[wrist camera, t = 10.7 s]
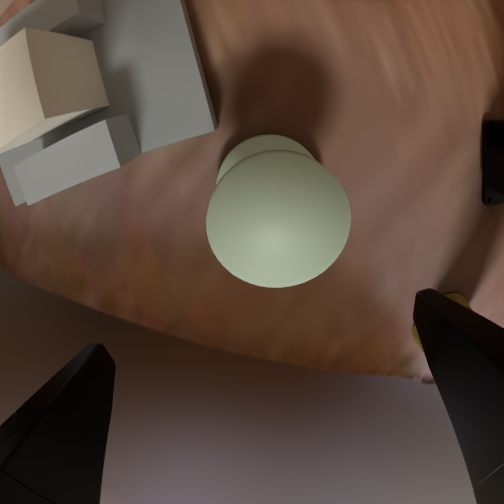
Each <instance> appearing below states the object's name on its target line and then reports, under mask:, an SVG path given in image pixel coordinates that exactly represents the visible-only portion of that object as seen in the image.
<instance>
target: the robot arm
mask: <svg viewBox="0 0 504 504" xmlns="http://www.w3.org/2000/svg"><path fill="white" fill-rule="evenodd" d="M489 126H490V127H489ZM483 150H484V163H483V192H482V202H483V203H484V204H485V205H487V206H491V205H496V204H500V203H504V120H486V121H484V123H483ZM487 199H488V200H487ZM413 320H414V324H415V327H416V329H417V332H418V335H419V338H420V341H421V344H422V347H423V350H424V353H425V356H426V360H427V363H428V366H429V368H430V371H431V373H432V376H433V378H434V380H435V383H436V385H437V387H438V390H439V392H440V394H441V397H442V400H443V402H444V404H445V407H446V410H447V412H448V415H449V417H450V420H451V422H452V425H453V428H454V431H455V434H456V436H457V439H458V442H459V445H460V448H461V451H462V454H463V457H464V460H465V463H466V466H467V470H468V473H469V476H470V480H471V483H472V486H473V488H474V489H473V491H474V495H475V498H476V502H477V504H504V328H502V327H500V326H499V325H497V324H495V323H493V322H492V321H490V320H488V319H486V318H485V317H483V316H481V315H479V314H478V313H476V312H474V311H472V310H470V309H469V308H467V307H465V306H463V305H461V304H459V303H458V302H456V301H454V300H452V299H450V298H448V297H447V296H445V295H443V294H441V293H439V292H437V291H435V290H433V289H431V288H428V289H424V290H420V291H418V292H417V293H416V297H415V304H414V311H413ZM115 371H116V366H115V362H114V360H113V358H112V357H111V356H110V354H109V353H108V351H107V350H106V348H105V347H104V345H103V344H101V343H91V344H89V345H87V346H86V347H85V348H84V349H83V350H82V351H81V352H79V353H78V354H77V355H76V356H75V357H74V358H73V359H72V360H71V361H69V362H68V363H67V364H66V365H65V366H64V367H63V368H62V369H61V370H59V371H58V372H57V373H56V374H55V375H54V376H53V377H52V378H51V379H50V380H48V381H47V382H46V383H45V384H44V385H43V386H42V387H41V388H40V389H39V390H38V391H37V392H36V393H35V394H33V396H31V397H30V398H29V399H28V400H27V401H26V402H25V403H24V404H23V405H22V406H21V407H20V408H18V409H17V410H16V412H15V413H13V414H12V415H11V416H10V417H9V418H8V419H7V420H6V421H5V422H4V423H3V424H2V425H1V426H0V504H100V496H101V486H102V485H101V484H102V476H103V467H104V460H105V459H104V458H105V451H106V445H107V438H108V432H109V425H110V419H111V413H112V403H113V391H114V380H115Z"/></svg>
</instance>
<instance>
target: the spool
mask: <svg viewBox="0 0 504 504" xmlns="http://www.w3.org/2000/svg"><path fill="white" fill-rule="evenodd" d="M350 225H351V211H350V205H349V201H348V198H347V195H346V193H345V191H344V189H343V187H342V186H341V184H340V183H339V181H338V180H337V179H336V178H335V177H334V176H333V175H332V174H331V172H329V171H328V170H327V169H326V168H325V167H324V166H323V165H322V164H321V163H319V162H318V161H316V160H315V159H314V157H313V156H312V155H311V154H310V153H309V152H308V151H307V150H306V149H305V148H304V147H303V146H302V145H301V144H299V143H298V142H296V141H294V140H293V139H290V138H288V137H285V136H281V135H276V134H263V135H257V136H253V137H250V138H248V139H246V140H244V141H242V142H241V143H239V144H238V145H236V146H235V147H234V148H233V149H232V150H231V151H230V152H229V153H228V154H227V156H226V157H225V159H224V161H223V163H222V164H221V167H220V170H219V173H218V177H217V182H216V187H215V189H214V191H213V194H212V197H211V200H210V204H209V207H208V212H207V220H206V228H207V236H208V240H209V243H210V246H211V248H212V251H213V252H214V254H215V256H216V257H217V259H218V260H219V261H220V263H221V264H222V265H223V266H224V267H225V268H226V269H227V270H228V271H229V272H231V273H232V274H233V275H235V276H236V277H238V278H240V279H242V280H244V281H246V282H248V283H251V284H254V285H258V286H263V287H274V288H277V287H288V286H294V285H297V284H301V283H303V282H306V281H308V280H310V279H312V278H314V277H316V276H318V275H319V274H321V273H322V272H324V271H325V270H326V269H327V268H328V267H329V266H330V265H331V264H332V263H333V262H334V261H335V260H336V259H337V257H338V256H339V255H340V253H341V251H342V250H343V248H344V246H345V244H346V241H347V239H348V235H349V231H350Z"/></svg>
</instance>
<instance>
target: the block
mask: <svg viewBox="0 0 504 504" xmlns="http://www.w3.org/2000/svg"><path fill="white" fill-rule="evenodd" d="M108 106H110V105H109V102H108V98H107V95H106V91H105V88H104V84H103V81H102V77H101V73H100V69H99V66H98V62H97V58H96V54H95V50H94V46H93V41H91V40H87V39H83V38H78V37H74V36H69V35H65V34H60V33H55V32H49V31H44V30H38V29H31V28H23V29H22V30H21V31H19V32H18V33H17V34H15V35H14V36H13V37H12V38H10V39H9V40H8V41H7V42H5V43H4V44H3V45H2V46H1V47H0V154H1V153H3V152H5V151H8V150H10V149H13V148H15V147H18V146H20V145H23V144H26V143H28V142H31V141H34V140H36V139H39V138H42V137H45V136H48V135H51V134H53V133H55V132H57V131H59V130H61V129H62V128H64V127H66V126H68V125H70V124H72V123H74V122H76V121H78V120H80V119H82V118H84V117H86V116H88V115H90V114H92V113H95V112H97V111H99V110H101V109H103V108H105V107H108Z"/></svg>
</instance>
